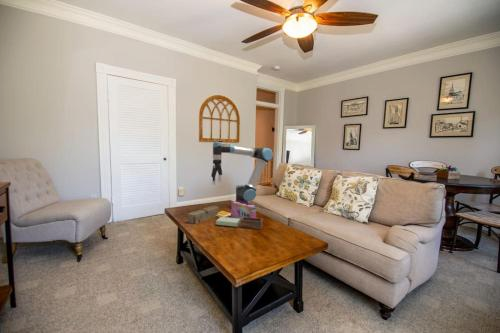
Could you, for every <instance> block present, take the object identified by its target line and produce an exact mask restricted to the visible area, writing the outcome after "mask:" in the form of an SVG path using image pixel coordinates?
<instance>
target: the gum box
mask: <svg viewBox="0 0 500 333" xmlns="http://www.w3.org/2000/svg"><path fill="white" fill-rule="evenodd" d="M235 201H236V200H235ZM235 201H231V202H230V203H231V206H230V207H231V208H230V209H231V210H230V218H238V219H240V221H241V219H242V218H243V217H249V218H257V204H254V203H249V202H248V203H245V202H241V201H236V202H235Z"/></svg>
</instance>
